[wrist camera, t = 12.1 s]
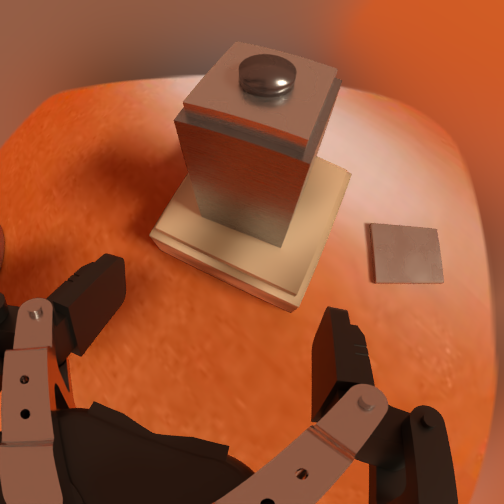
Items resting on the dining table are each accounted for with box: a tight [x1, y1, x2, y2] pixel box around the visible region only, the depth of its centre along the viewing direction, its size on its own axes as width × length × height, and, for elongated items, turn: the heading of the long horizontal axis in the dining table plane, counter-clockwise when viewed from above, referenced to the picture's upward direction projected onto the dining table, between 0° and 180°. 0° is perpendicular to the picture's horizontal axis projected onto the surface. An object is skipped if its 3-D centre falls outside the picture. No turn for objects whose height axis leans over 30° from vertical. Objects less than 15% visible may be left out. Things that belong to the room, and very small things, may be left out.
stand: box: [149, 156, 352, 313], centre depth 22 cm, size 11×11×4 cm
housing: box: [174, 41, 342, 248], centre depth 15 cm, size 6×6×11 cm
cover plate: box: [369, 223, 444, 284], centre depth 23 cm, size 7×5×1 cm
